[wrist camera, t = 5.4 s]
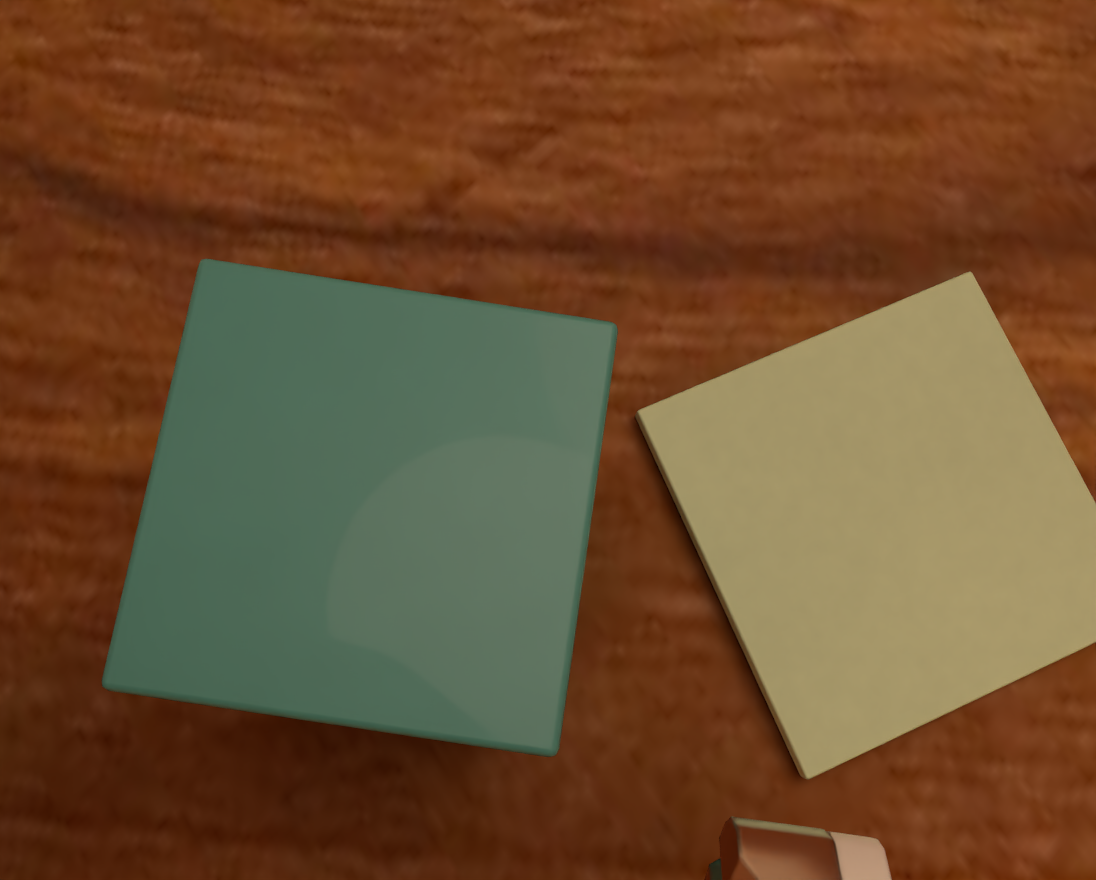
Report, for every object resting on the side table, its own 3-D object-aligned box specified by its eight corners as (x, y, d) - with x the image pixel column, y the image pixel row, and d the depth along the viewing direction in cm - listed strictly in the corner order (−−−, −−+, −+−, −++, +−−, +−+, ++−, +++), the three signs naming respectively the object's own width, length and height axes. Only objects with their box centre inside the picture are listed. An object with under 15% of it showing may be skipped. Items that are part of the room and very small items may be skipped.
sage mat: (800, 778, 18) (807, 780, 17) (634, 415, 19) (636, 410, 18) (1142, 614, 18) (1156, 613, 18) (962, 277, 20) (972, 269, 19)
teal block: (533, 709, 18) (558, 759, 10) (277, 671, 18) (95, 689, 10) (570, 458, 19) (619, 320, 11) (326, 420, 19) (197, 254, 11)
